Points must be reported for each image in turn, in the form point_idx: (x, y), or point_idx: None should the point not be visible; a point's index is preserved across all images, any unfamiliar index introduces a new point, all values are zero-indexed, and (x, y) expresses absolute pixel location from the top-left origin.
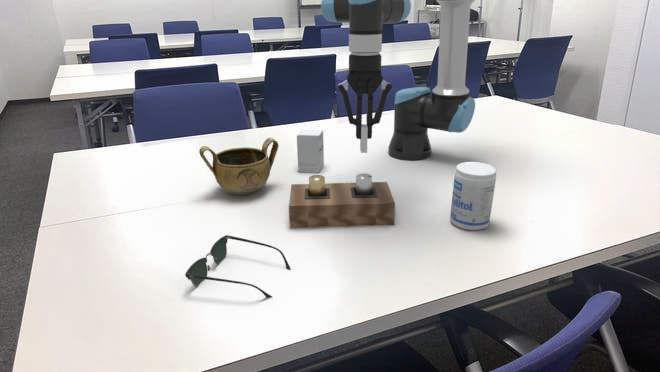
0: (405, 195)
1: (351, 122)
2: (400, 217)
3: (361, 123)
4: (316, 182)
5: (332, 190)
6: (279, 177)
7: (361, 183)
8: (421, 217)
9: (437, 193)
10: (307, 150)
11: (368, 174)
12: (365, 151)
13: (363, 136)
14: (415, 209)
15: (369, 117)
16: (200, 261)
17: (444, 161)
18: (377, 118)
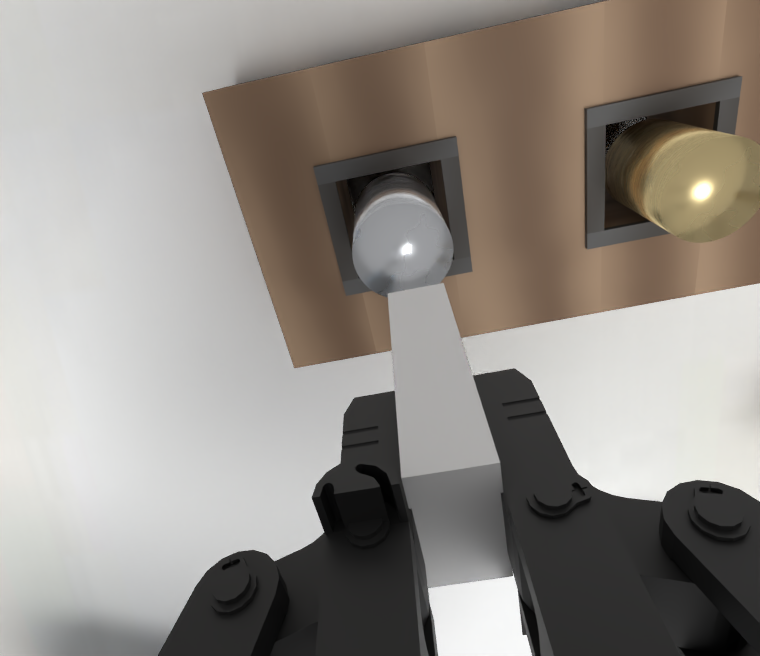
0: (238, 384)
1: (718, 497)
2: (220, 174)
3: (514, 517)
4: (716, 135)
5: (568, 227)
6: (749, 472)
7: (412, 196)
8: (128, 187)
9: (117, 416)
10: None
11: (377, 289)
12: (403, 296)
13: (444, 376)
14: (171, 263)
15: (378, 645)
16: None
17: (153, 643)
18: (219, 641)
